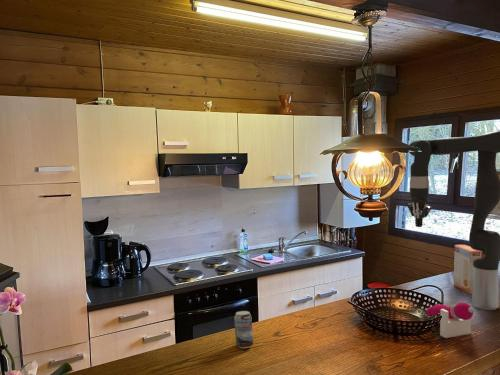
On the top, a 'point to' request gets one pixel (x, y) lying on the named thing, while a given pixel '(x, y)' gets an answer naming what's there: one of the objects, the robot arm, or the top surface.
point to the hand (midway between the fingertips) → (418, 226)
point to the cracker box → (464, 267)
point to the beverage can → (243, 329)
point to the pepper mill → (453, 311)
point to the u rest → (453, 325)
